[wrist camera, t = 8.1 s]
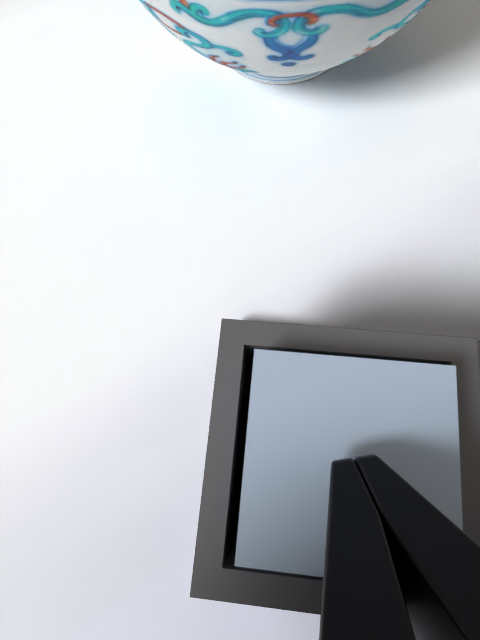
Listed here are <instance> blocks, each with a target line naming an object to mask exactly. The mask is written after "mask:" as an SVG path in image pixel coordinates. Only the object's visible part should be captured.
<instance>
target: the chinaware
mask: <svg viewBox="0 0 480 640" xmlns="http://www.w3.org/2000/svg"><path fill="white" fill-rule="evenodd" d="M430 1H431V0H140V2H141V3H142V4H143V5H144V6H145V8H146V9H147V10H148V11H149V12H150V13H151V14H152V15H153V16H154V17H155V18H156V20H157V21H158V22H159V23H160V24H162V25H163V26H164V27H165V28H166V29H167V30H168V31H169V32H170V33H171V34H173V35H174V36H175V37H176V38H178V39H179V40H180V41H182V42H183V43H184V44H186V45H187V46H188V47H190V48H191V49H193V50H195V51H196V52H198V53H200V54H201V55H203V56H205V57H207V58H209V59H211V60H213V61H215V62H217V63H219V64H222V65H224V66H227V67H230V68H232V69H234V70H235V71H236V72H238V73H239V74H241V75H243V76H245V77H247V78H249V79H252V80H255V81H258V82H262V83H268V84H292V83H298V82H302V81H306V80H309V79H312V78H314V77H316V76H318V75H320V74H322V73H324V72H325V71H327V70H328V69H330V68H332V67H335V66H337V65H340V64H343V63H345V62H347V61H350V60H352V59H354V58H356V57H358V56H360V55H362V54H364V53H365V52H367V51H369V50H371V49H372V48H374V47H376V46H377V45H379V44H380V43H382V42H383V41H385V40H386V39H388V38H389V37H390V36H392V35H393V34H394V33H396V32H397V31H398V30H400V29H401V28H402V27H403V26H404V25H406V24H407V23H408V22H409V21H410V20H411V19H412V18H413V17H415V16H416V15H417V14H418V13H419V12H420V11H421V10H422V9H423V8H424V7H425V6H426V5H427V4H428V3H429V2H430Z"/></svg>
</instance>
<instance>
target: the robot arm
mask: <svg viewBox="0 0 480 640" xmlns="http://www.w3.org/2000/svg"><path fill="white" fill-rule="evenodd" d="M319 640H480V546H479V545H478V544H477V543H476V542H475V541H474V540H473V539H471V538H470V537H469V536H468V535H467V534H466V533H465V532H463V531H462V530H461V529H460V528H459V527H458V526H457V525H455V524H454V523H453V522H452V521H451V520H450V519H449V518H448V517H446V516H445V515H444V514H443V513H442V512H441V511H440V510H438V509H437V508H436V507H435V506H434V505H433V504H432V503H431V502H429V501H428V500H427V499H426V498H425V497H424V496H423V495H421V494H420V493H419V492H418V491H417V490H416V489H415V488H413V487H412V486H411V485H410V484H409V483H408V482H407V481H406V480H404V479H403V478H402V477H401V476H400V475H399V474H398V473H396V472H395V471H394V470H393V469H392V468H391V467H390V466H389V465H387V464H386V463H385V462H384V461H383V460H382V459H381V458H379V457H378V456H377V455H374V454H369V455H363V456H357V457H355V458H354V460H353V459H352V458H345V459H338V460H334V461H332V463H331V472H330V487H329V502H328V516H327V531H326V546H325V560H324V575H323V590H322V605H321V619H320V634H319Z"/></svg>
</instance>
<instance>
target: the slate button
mask: <svg viewBox="0 0 480 640" xmlns="http://www.w3.org/2000/svg"><path fill="white" fill-rule="evenodd" d="M369 454H374V455H377V456H378V457H379V458H381V459H382V460H383V461H384V462H385V463H386V464H387V465H389V466H390V467H391V468H392V469H393V470H394V471H395V472H396V473H398V474H399V475H400V476H401V477H402V478H403V479H404V480H406V481H407V482H408V483H409V484H410V485H411V486H412V487H413V488H415V489H416V490H417V491H418V492H419V493H420V494H421V495H423V496H424V497H425V498H426V499H427V500H428V501H429V502H431V503H432V504H433V505H434V506H435V507H436V508H437V509H438V510H440V511H441V512H442V513H443V514H444V515H445V516H446V517H448V518H449V519H450V520H451V521H452V522H453V523H454V524H455V525H457V526H458V527H459V528H460V529H461V530H462V531H463V520H462V496H461V472H460V449H459V425H458V401H457V377H456V366H452V365H440V364H428V363H416V362H404V361H392V360H380V359H368V358H356V357H344V356H333V355H321V354H309V353H297V352H285V351H273V350H261V349H254V358H253V369H252V380H251V391H250V402H249V413H248V424H247V435H246V445H245V456H244V467H243V478H242V489H241V500H240V511H239V522H238V533H237V544H236V555H235V566H238V567H245V568H253V569H261V570H269V571H277V572H285V573H293V574H301V575H309V576H316V577H323V575H324V560H325V546H326V531H327V516H328V502H329V487H330V472H331V463H332V461H334V460H338V459H345V458H352V459H353V460H354V458H355V457H357V456H363V455H369Z"/></svg>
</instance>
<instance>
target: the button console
mask: <svg viewBox="0 0 480 640" xmlns="http://www.w3.org/2000/svg"><path fill="white" fill-rule="evenodd" d="M254 349H261V350H273V351H285V352H297V353H309V354H321V355H333V356H344V357H356V358H368V359H380V360H392V361H404V362H416V363H428V364H440V365H452V366H456V377H457V401H458V425H459V449H460V472H461V496H462V520H463V532H465V533H466V534H467V535H468V536H469V537H470V538H471V539H473V540H474V541H475V542H476V543H477V544H478V545H479V546H480V341H477V339H476V338H463V337H450V336H437V335H425V334H412V333H399V332H387V331H374V330H361V329H348V328H336V327H323V326H310V325H298V324H285V323H272V322H259V321H247V320H234V319H222V322H221V331H220V340H219V348H218V357H217V366H216V374H215V383H214V392H213V400H212V409H211V418H210V426H209V435H208V444H207V453H206V461H205V470H204V479H203V487H202V496H201V505H200V513H199V522H198V531H197V539H196V548H195V557H194V565H193V574H192V583H191V591H190V597H193V598H201V599H208V600H216V601H223V602H231V603H238V604H245V605H253V606H260V607H268V608H275V609H283V610H290V611H298V612H305V613H313V614H320V615H321V605H322V590H323V577H316V576H309V575H301V574H293V573H285V572H277V571H269V570H261V569H253V568H245V567H238V566H235V555H236V544H237V533H238V522H239V511H240V500H241V489H242V478H243V467H244V456H245V445H246V435H247V424H248V413H249V402H250V391H251V380H252V369H253V358H254Z"/></svg>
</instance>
